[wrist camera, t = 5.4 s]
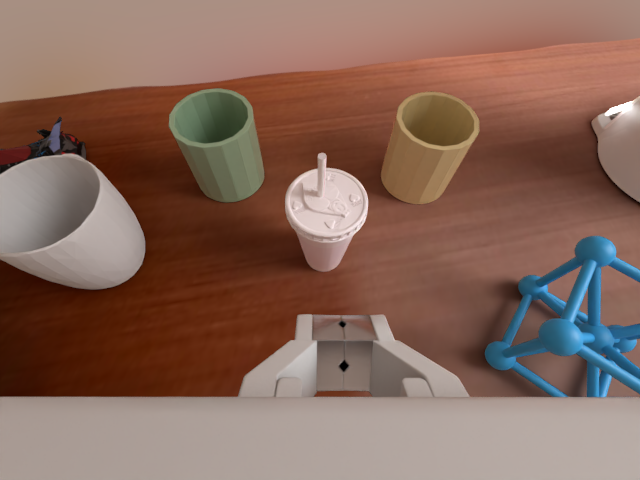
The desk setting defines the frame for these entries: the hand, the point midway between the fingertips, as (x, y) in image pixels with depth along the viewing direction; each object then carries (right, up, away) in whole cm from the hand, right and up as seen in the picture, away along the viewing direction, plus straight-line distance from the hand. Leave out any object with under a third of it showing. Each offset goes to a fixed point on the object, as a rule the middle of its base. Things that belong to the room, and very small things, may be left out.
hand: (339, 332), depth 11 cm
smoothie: (0, +2, +22) cm, 22 cm away
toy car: (-34, +11, +26) cm, 44 cm away
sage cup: (-11, +11, +26) cm, 30 cm away
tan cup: (+10, +11, +27) cm, 30 cm away
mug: (-22, +3, +22) cm, 31 cm away
